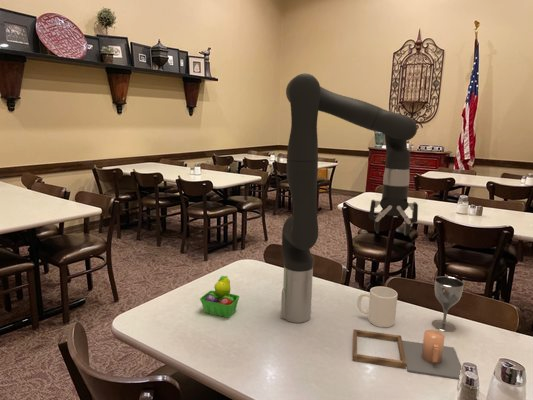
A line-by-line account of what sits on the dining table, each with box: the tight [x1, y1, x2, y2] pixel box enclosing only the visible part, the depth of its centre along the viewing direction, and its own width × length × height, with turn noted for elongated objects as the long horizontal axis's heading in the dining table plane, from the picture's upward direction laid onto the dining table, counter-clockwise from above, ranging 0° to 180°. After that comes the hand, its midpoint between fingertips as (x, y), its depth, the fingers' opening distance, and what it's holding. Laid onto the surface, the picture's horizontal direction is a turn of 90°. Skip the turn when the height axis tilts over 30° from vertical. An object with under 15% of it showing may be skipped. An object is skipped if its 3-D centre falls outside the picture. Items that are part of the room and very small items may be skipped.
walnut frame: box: [352, 328, 407, 370], centre depth 109 cm, size 14×14×2 cm
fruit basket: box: [199, 275, 240, 318], centre depth 128 cm, size 11×9×11 cm
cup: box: [356, 286, 399, 328], centre depth 124 cm, size 8×12×10 cm
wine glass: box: [431, 276, 465, 333], centre depth 121 cm, size 8×8×15 cm
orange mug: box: [422, 329, 446, 364], centre depth 103 cm, size 7×5×7 cm
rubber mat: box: [402, 339, 463, 380], centre depth 105 cm, size 14×14×1 cm
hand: (391, 233), depth 122 cm, fingers open, 8 cm apart
